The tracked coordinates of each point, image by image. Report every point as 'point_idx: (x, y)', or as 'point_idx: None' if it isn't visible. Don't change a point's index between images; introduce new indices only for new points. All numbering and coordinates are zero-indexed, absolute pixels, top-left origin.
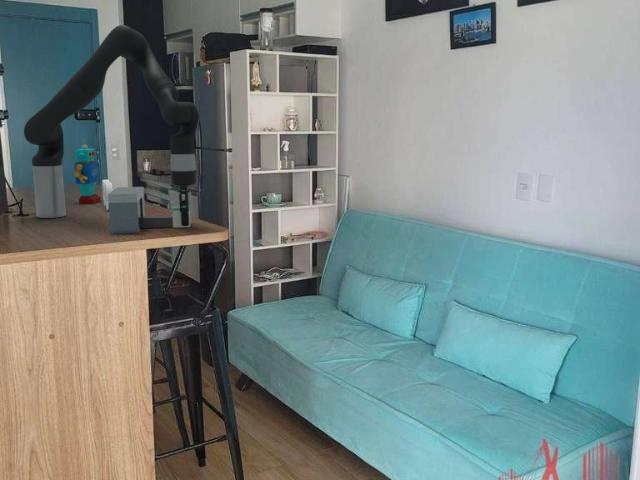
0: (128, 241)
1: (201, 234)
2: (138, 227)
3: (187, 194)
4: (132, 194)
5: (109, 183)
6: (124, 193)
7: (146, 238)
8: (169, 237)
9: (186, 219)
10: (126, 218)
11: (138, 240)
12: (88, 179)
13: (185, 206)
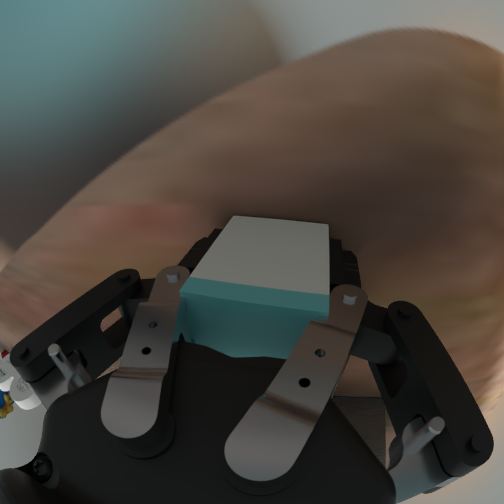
0: (488, 396)
1: None
2: (384, 414)
3: (470, 458)
4: None
5: (18, 404)
6: None
7: (485, 372)
8: None
9: (358, 274)
10: None
11: (494, 382)
12: (4, 392)
13: (227, 328)
